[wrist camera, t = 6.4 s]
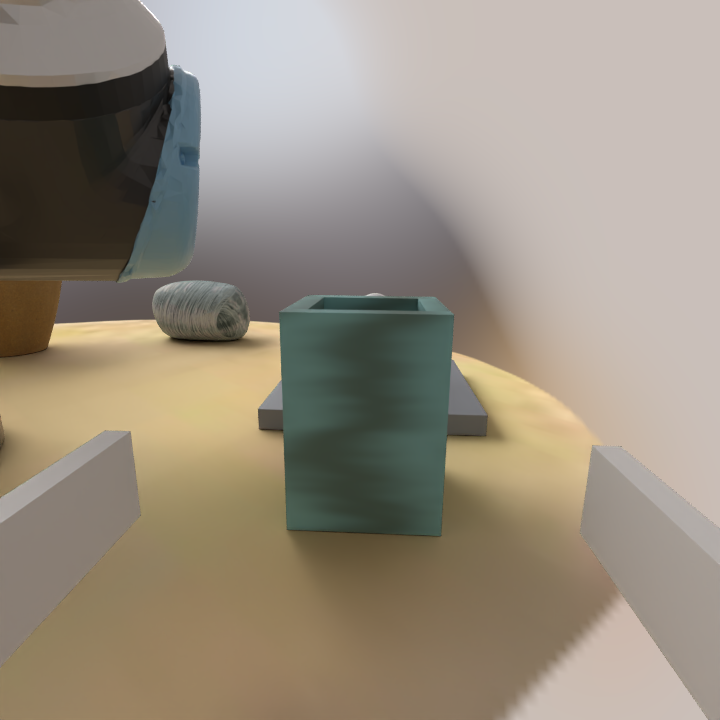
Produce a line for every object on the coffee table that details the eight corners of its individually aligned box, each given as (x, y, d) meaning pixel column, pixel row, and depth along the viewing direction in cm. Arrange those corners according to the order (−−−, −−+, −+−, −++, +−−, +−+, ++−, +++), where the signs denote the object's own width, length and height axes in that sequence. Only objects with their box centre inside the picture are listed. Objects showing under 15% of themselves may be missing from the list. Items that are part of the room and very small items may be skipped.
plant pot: (-109, 364, 48) (-148, 209, 45) (8, 338, 63) (-14, 219, 59) (18, 368, 47) (-11, 209, 43) (107, 340, 62) (92, 219, 58)
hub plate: (259, 429, 32) (252, 302, 30) (300, 370, 47) (298, 284, 45) (485, 435, 31) (496, 306, 29) (452, 373, 46) (457, 286, 44)
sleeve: (286, 529, 20) (279, 312, 18) (311, 459, 27) (308, 295, 25) (440, 535, 20) (454, 314, 18) (426, 463, 27) (434, 297, 24)
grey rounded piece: (270, 312, 66) (236, 253, 61) (244, 353, 59) (203, 290, 54) (200, 328, 72) (163, 275, 66) (169, 367, 65) (124, 311, 59)
